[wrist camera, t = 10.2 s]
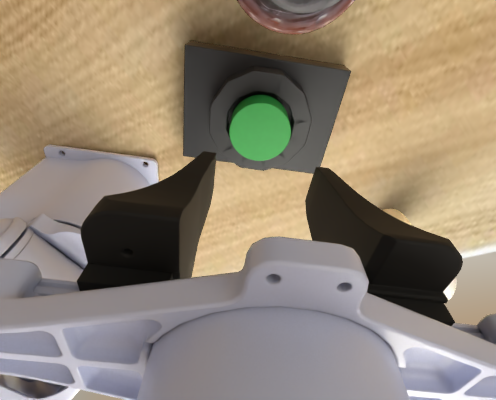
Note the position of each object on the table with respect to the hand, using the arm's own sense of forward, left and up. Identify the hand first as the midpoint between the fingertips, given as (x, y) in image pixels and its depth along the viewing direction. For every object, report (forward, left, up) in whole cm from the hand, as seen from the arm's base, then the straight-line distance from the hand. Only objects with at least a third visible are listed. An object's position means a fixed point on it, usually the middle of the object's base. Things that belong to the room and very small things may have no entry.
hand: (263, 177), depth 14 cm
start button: (0, 0, -7) cm, 7 cm away
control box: (0, 0, -10) cm, 10 cm away
